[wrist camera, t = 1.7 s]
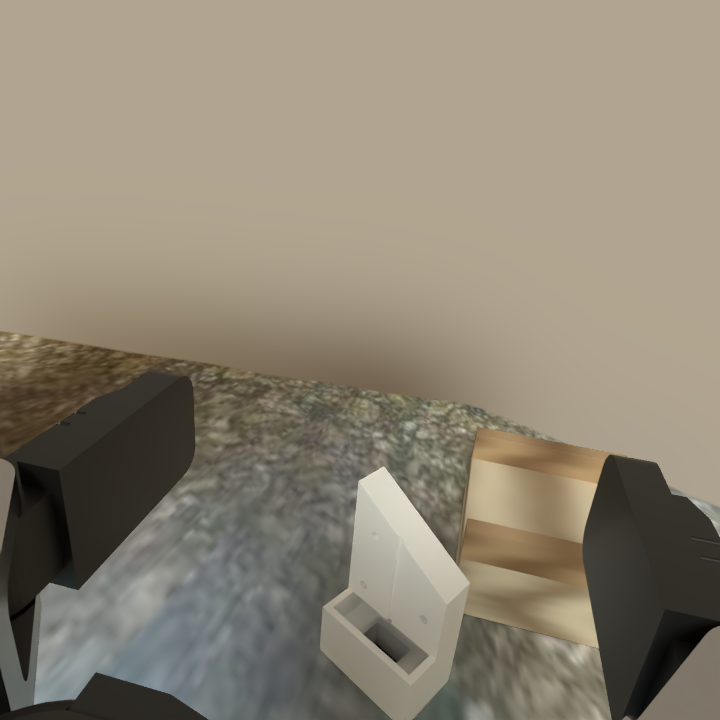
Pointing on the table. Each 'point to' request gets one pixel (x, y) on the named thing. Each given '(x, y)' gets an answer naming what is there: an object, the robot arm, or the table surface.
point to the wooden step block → (529, 533)
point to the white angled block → (395, 604)
